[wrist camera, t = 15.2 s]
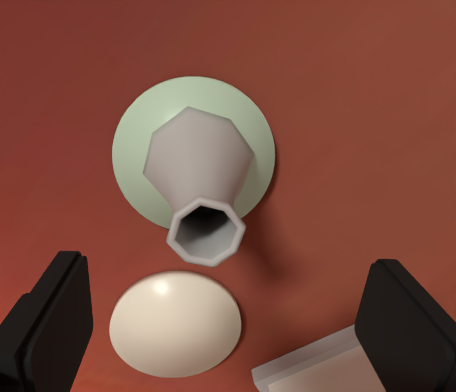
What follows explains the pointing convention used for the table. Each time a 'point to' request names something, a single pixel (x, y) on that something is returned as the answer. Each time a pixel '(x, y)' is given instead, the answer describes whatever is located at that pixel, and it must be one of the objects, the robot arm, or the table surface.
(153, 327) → the cream pad
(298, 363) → the control unit
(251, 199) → the green pad
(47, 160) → the table surface
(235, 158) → the flask
